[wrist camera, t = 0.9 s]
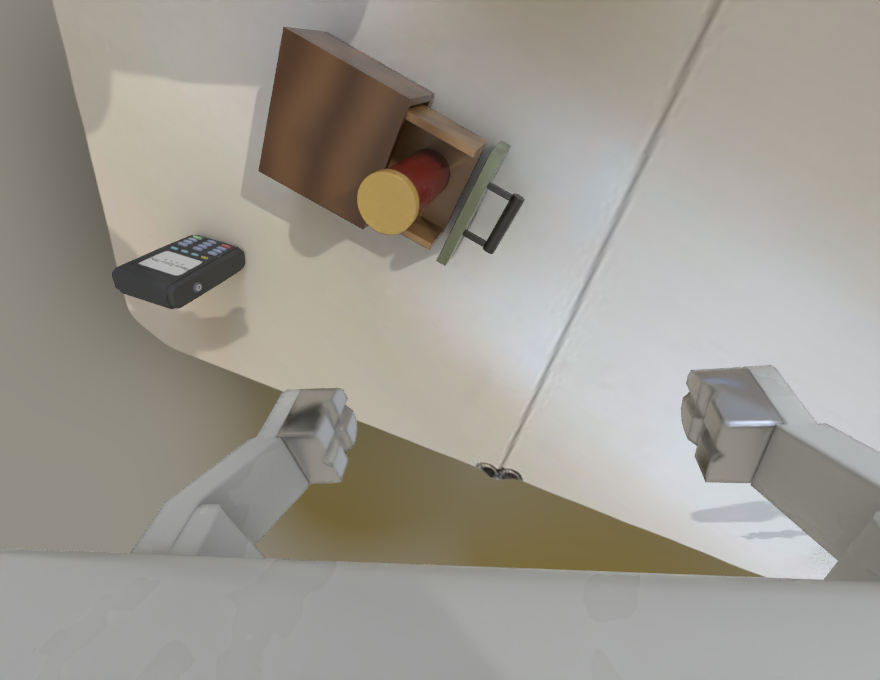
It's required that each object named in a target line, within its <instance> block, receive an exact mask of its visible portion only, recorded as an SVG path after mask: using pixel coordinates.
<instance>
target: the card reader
mask: <svg viewBox="0 0 880 680" xmlns="http://www.w3.org/2000/svg"><path fill="white" fill-rule="evenodd" d="M244 265H245V259H244V252H243V251H242V250H240V249H239V248H238V247H235V246H232V245H228V244H225V243H222V242H219V241H215V240H212V239H209V238H205V237H202V236H199V235H194V236H193V235H191V236H188V237H186V238H183V239H181V240H178V241H176V242H174V243H171V244H169V245H166V246H164V247H162V248H160V249H157V250H155V251H153V252H151V253H148V254H146V255H144V256H141V257H139V258H137V259H135V260H132V261H130V262H128V263H126V264H123V265H121V266H119V267H117V268H116V269H115V270H114V271H113V273H112V277H113V280H114V284H115V287H116V288H117V289H119V290H120V291H121V292H122V293H124V294H127V295H130V296H133V297H136V298H139V299H142V300H145V301H148V302H151V303H154V304H157V305H160V306H163V307H166V308H169V309H174V308H181V307H183V306H184V305H186V304H188V303H189V302H191V301H193V300H194V299H196V298H197V297H199V296H201V295H202V294H204V293H205V292H207V291H209V290H210V289H212V288H214V287H215V286H217V285H218V284H220V283H222V282H223V281H225V280H226V279H228V278H229V277H231V276H232V275H234V274H235V273H237V272H239V271H240V270H241V269H242V268H243V267H244Z"/></svg>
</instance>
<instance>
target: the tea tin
mask: <svg viewBox="0 0 880 680" xmlns="http://www.w3.org/2000/svg"><path fill="white" fill-rule="evenodd" d="M449 180H450V168H449V164H448V162H447V160H446V159H445V157H444V156H443V155H442V154H441V153H439V152H437V151H435V150H432V149H423V150H420V151H418V152H416V153H414V154H413V155H411V156H409V157H407V158H405V159H404V160H402V161H400V162H398V163H396V164H395V165H393V166H391V167H389V168H387V169H382V170H378V171H376V172H374V173H372V174H370V175H369V176H367V177H366V178H365V179H364V180H363V182H362V183H361V185H360V187H359V190H358V195H357V203H358V208H359V211H360V214H361V216H362V217H363V219H364V220H365V222H366V223H367V224H368V225H369V226H370V227H371V228H372V229H374V230H376V231H377V232H380V233H382V234H387V235H395V234H399V233H401V232H403V231H405V230H406V229H407V228H408V227H409V226H410V225H411V224H412V223H413V222H414V221H415V219H416V217H417V215H418V214H419V213H420V212H421V211H422V210H423V209H424V208H425V207H426V206H428V205H429V204H430V203H431V202H432V201H433V200H434V199H435V198H436V197H437V196H438V195H439V194H440V193H441V192H442V191H443V190H444V189H445V188H446V187H447V185H448V183H449Z"/></svg>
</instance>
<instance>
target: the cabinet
mask: <svg viewBox="0 0 880 680" xmlns="http://www.w3.org/2000/svg"><path fill="white" fill-rule="evenodd" d="M433 96H434V93H432V92H431V91H429V90H427V89H425V88H424V87H422V86H420V85H418V84H417V83H415V82H413V81H411V80H410V79H408V78H406V77H404V76H403V75H401V74H399V73H397V72H396V71H394V70H392V69H390V68H389V67H387V66H385V65H383V64H382V63H380V62H378V61H376V60H375V59H373V58H371V57H369V56H368V55H366V54H364V53H362V52H361V51H359V50H357V49H356V48H354V47H352V46H350V45H349V44H347V43H345V42H343V41H342V40H340V39H338V38H336V37H335V36H333V35H331V34H329V33H328V32H321V31H313V30H305V29H297V28H289V27H284V28H283V34H282V40H281V45H280V51H279V57H278V62H277V68H276V74H275V80H274V85H273V91H272V97H271V103H270V108H269V114H268V120H267V126H266V131H265V137H264V143H263V149H262V154H261V160H260V166H259V171H260V172H261V173H263V174H265V175H267V176H268V177H270V178H272V179H274V180H276V181H277V182H279V183H281V184H283V185H285V186H286V187H288V188H290V189H292V190H294V191H295V192H297V193H299V194H301V195H302V196H304V197H306V198H308V199H310V200H311V201H313V202H315V203H317V204H319V205H320V206H322V207H324V208H326V209H328V210H329V211H331V212H333V213H335V214H337V215H338V216H340V217H342V218H344V219H345V220H347V221H349V222H351V223H353V224H354V225H356V226H358V227H360V228H362V229H365V228H366V227H367V226H368V224H367V223H366V222H365V220H364V219H363V217H362V216H361V214H360V211H359V208H358V203H357V195H358V190H359V187H360V185H361V183H362V182H363V180H364V179H365V178H366V177H367V176H369V175H370V174H372V173H374V172H376V171H378V170H382V169H387V168H388V166H389V163H390V160H391V157H392V154H393V152H394V149H395V146H396V143H397V141H398V138H399V135H400V132H401V129H402V127H403V124H404V121H405V118H406V116H407V113H408V110H409V107H410V106H414V105H417V104H421V103H422V104H423V105H425V106H427V107H430V104H431V102H432V99H433Z"/></svg>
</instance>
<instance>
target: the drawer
mask: <svg viewBox="0 0 880 680" xmlns="http://www.w3.org/2000/svg"><path fill="white" fill-rule="evenodd" d="M486 143H487V141H486V140H485V139H483V138H481V137H479V136H478V135H476V134H474V133H472V132H471V131H469V130H467V129H465V128H464V127H462V126H460V125H458V124H457V123H455V122H453V121H451V120H450V119H448V118H446V117H444V116H443V115H441V114H439V113H437V112H436V111H434V110H432V109H430V108H429V107H427V106H425V105H423V104H422V103H421V104H417V105H414V106H410V107H409V110H408V113H407V116H406V118H405V121H404V124H403V127H402V129H401V132H400V135H399V138H398V141H397V143H396V146H395V149H394V152H393V154H392V157H391V160H390V163H389V166H388V168H389V167H391V166H393V165H395V164H396V163H398V162H400V161H402V160H404V159H405V158H407V157H409V156H411V155H413V154H414V153H416V152H418V151H420V150H423V149H432V150H435V151H437V152H439V153H441V154H442V155H443V156H444V157H445V159H446V160H447V162H448V164H449V168H450V180H449V183H448V185H447V187H446V188H445V189H444V190H443V191H442V192H441V193H440V194H439V195H438V196H437V197H436V198H435V199H434V200H433V201H432V202H431V203H430V204H429V205H428V206H426V207H425V208H424V209H423V210H422V211H421V212H420V213H419V214H418V215H417V217H416V219H415V221H414V222H413V223H412V224H411V225H410V226H409V227H408V228H407V229H406V230H405V231H403V232H401V233H400V234H402V235H404V236H406V237H407V238H409V239H411V240H413V241H415V242H416V243H418V244H420V245H422V246H424V247H425V248H427V249H430V248H431V247H432V246H433V245H434V243H435V242H436V241H437V239H438V238H439V237H440V236H441V234H442V233H443V232H444V230H445V228H446V226H447V223H448V221H449V219H450V217H451V215H452V213H453V211H454V209H455V207H456V205H457V203H458V201H459V199H460V197H461V195H462V193H463V191H464V189H465V187H466V184H467V182H468V180H469V178H470V176H471V174H472V172H473V170H474V168H475V166H476V164H477V162H478V160H479V158H480V156H481V154H482V152H483V150H484V148H485V145H486ZM509 148H510V145H508V144H506V143H505V142H503V141H501V142H500V143H499V144H498V145H497V146H496V147H495V148H494V149H493V150H492V151H491V152H490V154H489V156H488V158H487V160H486V162H485V164H484V166H483V168H482V170H481V172H480V174H479V176H478V178H477V180H476V182H475V184H474V186H473V188H472V190H471V192H470V194H469V196H468V198H467V200H466V202H465V204H464V206H463V208H462V210H461V212H460V214H459V216H458V218H457V220H456V222H455V224H454V226H453V228H452V230H451V232H450V234H449V236H448V239H447V241H446V243H445V245H444V247H443V249H442V251H441V253H440V255H439V257H438V259H437V261H438V262H439V263H441V264H443V265H446V264H447V263H448V261H449V259H450V258H451V256H452V255H453V253H454V252H455V250H456V249H457V247H458V246H459V244H460V242H461V240H462V238H463V236H465V237H467V238H469V239H470V240H472V241H474V242H476V243H478V244H479V245H481V246H484V247H483V249H484V250H485V251H486V252H487V253H490V254H493V253H494V251H495V250H496V248H497V246H498V245H499V243H500V241H501V239H502V238H503V236H504V234H505V233H506V231H507V229H508V228H509V226H510V224H511V222H512V221H513V219H514V217H515V216H516V214H517V212H518V211H519V209H520V207H521V205H522V204H523V202H524V198H523V197H521V196H520V195H518V194H513V195H512V194H510V193H509V192H507V191H505V190H503V189H502V188H500V187H498V186H496V185H495V184H493V183H492V181H493V179H494V177H495V175H496V173H497V171H498V169H499V167H500V165H501V163H502V162H503V160H504V158H505V156H506V154H507V152H508V150H509ZM488 189H489V190H491V191H493V192H495V193H496V194H498V195H500V196H502V197H503V198H505V199H507V200H509V202H508V204H507V206H506V208H505V209H504V211H503V213H502V215H501V216H500V218H499V220H498V222H497V223H496V225H495V227H494V229H493V231H492V232H491V234H490V236H489V238H488V239H487V241H485V240H484V239H482V238H480V237H478V236H477V235H475V234H473V233H471V232H469V231H468V230H467V228H468V227H469V225H470V223H471V221H472V219H473V217H474V215H475V213H476V211H477V209H478V207H479V205H480V204H481V202H482V200H483V198H484V196H485V194H486V192H487V190H488Z"/></svg>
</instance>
